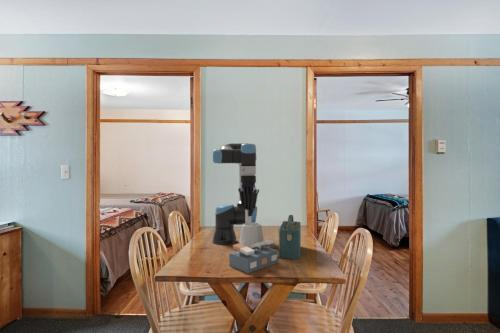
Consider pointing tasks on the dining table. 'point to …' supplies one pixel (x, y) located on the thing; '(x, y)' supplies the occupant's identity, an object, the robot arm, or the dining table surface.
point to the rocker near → (243, 249)
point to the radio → (290, 239)
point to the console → (253, 259)
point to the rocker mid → (255, 245)
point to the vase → (251, 234)
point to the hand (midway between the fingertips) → (248, 222)
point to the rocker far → (267, 243)
